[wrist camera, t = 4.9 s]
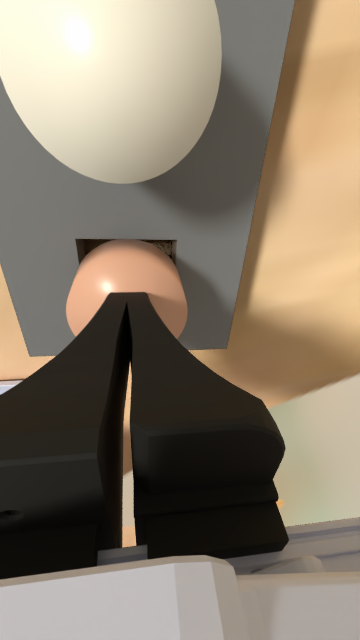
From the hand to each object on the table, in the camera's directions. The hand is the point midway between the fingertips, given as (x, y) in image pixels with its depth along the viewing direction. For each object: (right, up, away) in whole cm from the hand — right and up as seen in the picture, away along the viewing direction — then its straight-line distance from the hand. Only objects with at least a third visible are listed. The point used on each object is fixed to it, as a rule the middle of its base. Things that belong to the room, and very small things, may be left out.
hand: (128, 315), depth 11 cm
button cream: (0, +7, -2) cm, 7 cm away
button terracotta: (0, +2, +3) cm, 3 cm away
